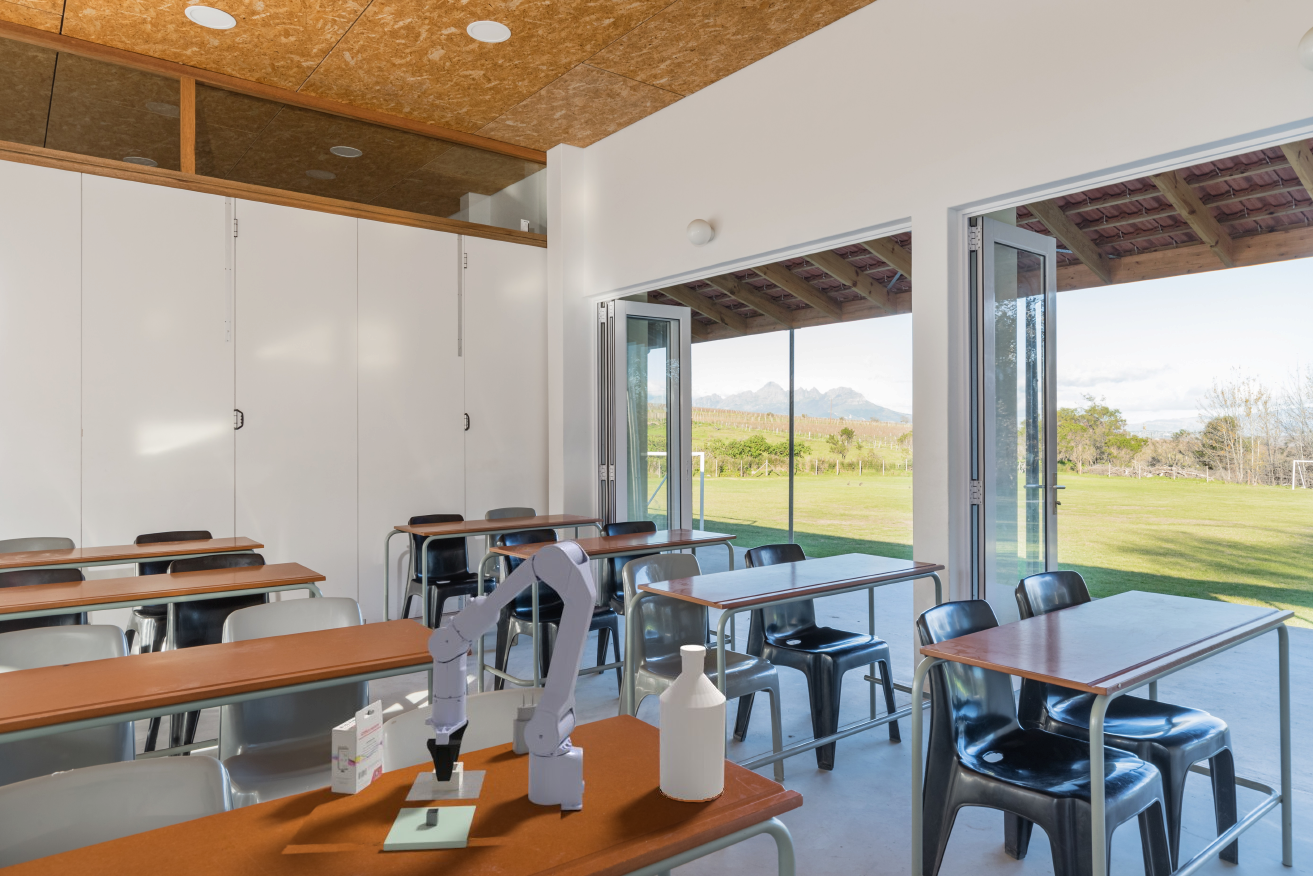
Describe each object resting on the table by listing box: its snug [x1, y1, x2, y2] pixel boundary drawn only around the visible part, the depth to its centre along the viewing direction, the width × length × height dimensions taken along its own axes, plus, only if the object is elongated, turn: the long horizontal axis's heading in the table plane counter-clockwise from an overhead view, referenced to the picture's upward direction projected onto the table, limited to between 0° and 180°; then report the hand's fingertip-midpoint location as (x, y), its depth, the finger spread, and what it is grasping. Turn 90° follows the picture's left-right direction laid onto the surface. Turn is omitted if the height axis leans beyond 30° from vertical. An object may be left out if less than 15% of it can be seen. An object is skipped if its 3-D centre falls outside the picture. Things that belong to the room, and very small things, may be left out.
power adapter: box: [512, 692, 538, 755], centre depth 154 cm, size 3×5×12 cm, turn 118°
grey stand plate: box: [405, 769, 487, 802], centre depth 137 cm, size 12×12×3 cm
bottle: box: [659, 644, 727, 800], centre depth 139 cm, size 12×12×25 cm
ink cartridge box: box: [331, 699, 384, 795], centre depth 138 cm, size 9×5×15 cm, turn 168°
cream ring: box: [431, 761, 464, 791], centre depth 137 cm, size 5×5×3 cm
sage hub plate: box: [383, 805, 477, 852], centre depth 122 cm, size 12×12×3 cm
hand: (447, 771), depth 137 cm, fingers open, 7 cm apart
